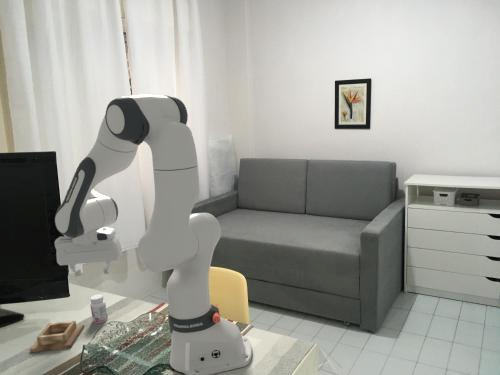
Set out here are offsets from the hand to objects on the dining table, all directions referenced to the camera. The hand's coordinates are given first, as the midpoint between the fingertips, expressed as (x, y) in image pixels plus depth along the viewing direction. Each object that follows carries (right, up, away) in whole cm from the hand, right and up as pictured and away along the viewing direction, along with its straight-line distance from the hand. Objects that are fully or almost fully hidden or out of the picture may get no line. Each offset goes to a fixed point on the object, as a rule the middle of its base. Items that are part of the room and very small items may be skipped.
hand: (92, 274), depth 137 cm
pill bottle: (+2, -16, +3) cm, 17 cm away
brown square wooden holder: (-8, -19, -7) cm, 22 cm away
